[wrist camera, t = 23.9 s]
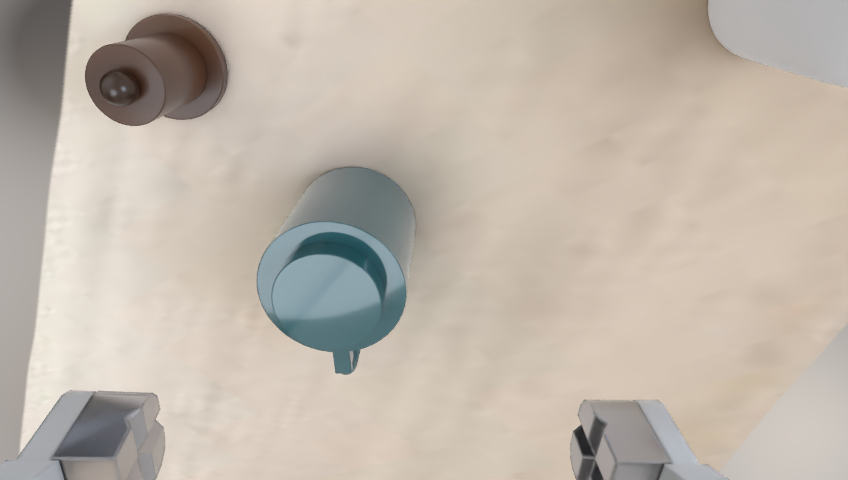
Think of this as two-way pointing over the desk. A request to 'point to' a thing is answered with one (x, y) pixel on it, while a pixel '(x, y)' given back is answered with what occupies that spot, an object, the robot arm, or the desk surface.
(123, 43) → the lid
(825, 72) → the milk bottle
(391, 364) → the desk surface
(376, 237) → the teal mug
